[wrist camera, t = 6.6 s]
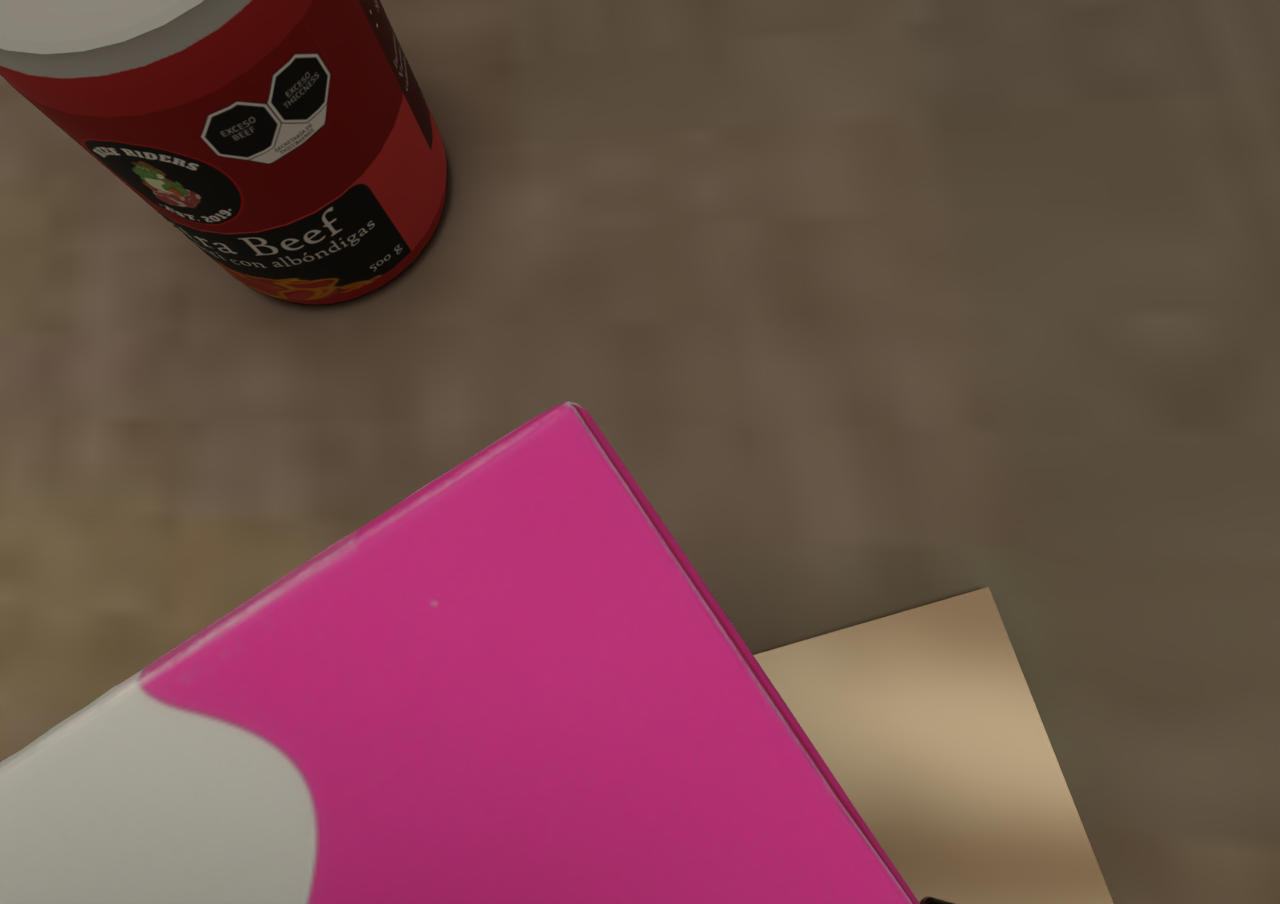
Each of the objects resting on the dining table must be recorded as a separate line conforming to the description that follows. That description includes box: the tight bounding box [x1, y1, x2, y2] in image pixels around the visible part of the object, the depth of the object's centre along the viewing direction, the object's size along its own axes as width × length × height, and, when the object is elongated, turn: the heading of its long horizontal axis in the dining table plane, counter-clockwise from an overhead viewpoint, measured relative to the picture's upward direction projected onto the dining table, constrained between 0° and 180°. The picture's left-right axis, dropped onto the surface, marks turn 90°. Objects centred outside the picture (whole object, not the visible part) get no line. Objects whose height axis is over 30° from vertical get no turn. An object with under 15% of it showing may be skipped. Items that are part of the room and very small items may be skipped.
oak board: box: [753, 587, 1114, 904], centre depth 20 cm, size 12×12×1 cm
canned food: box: [0, 0, 447, 305], centre depth 21 cm, size 8×8×11 cm
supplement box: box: [0, 402, 920, 904], centre depth 11 cm, size 6×6×12 cm
